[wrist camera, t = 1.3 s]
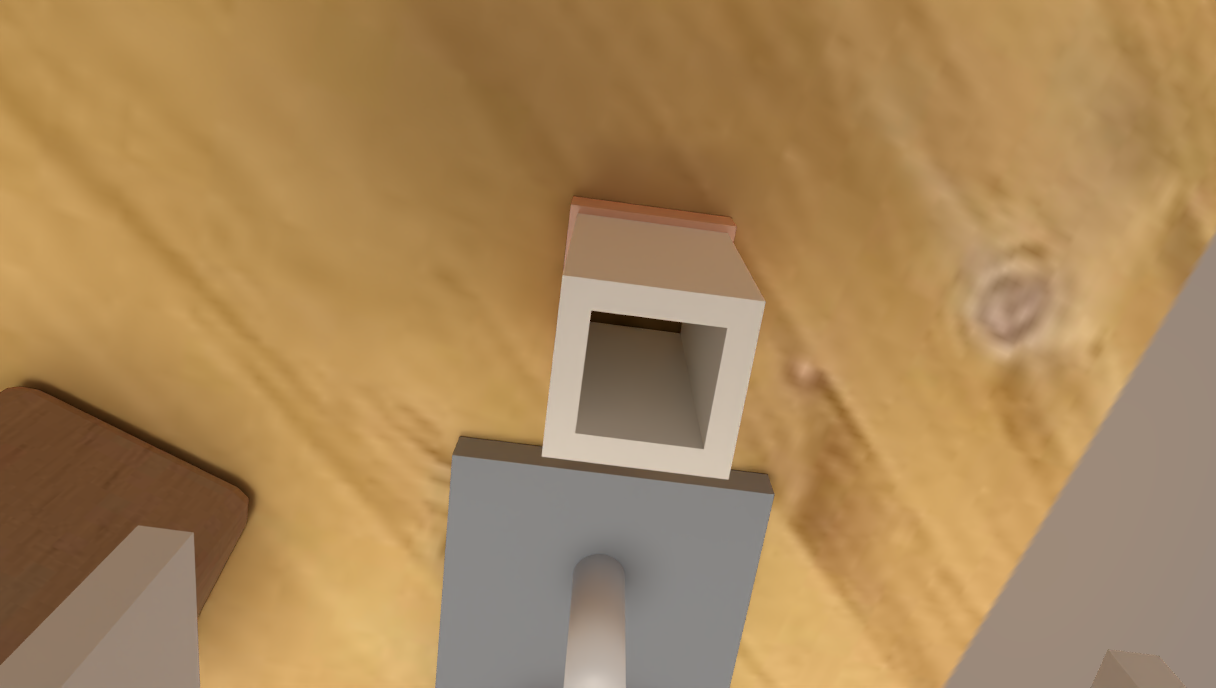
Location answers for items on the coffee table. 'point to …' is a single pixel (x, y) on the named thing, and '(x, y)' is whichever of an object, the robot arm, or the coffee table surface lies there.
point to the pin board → (585, 517)
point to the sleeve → (651, 340)
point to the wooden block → (91, 506)
